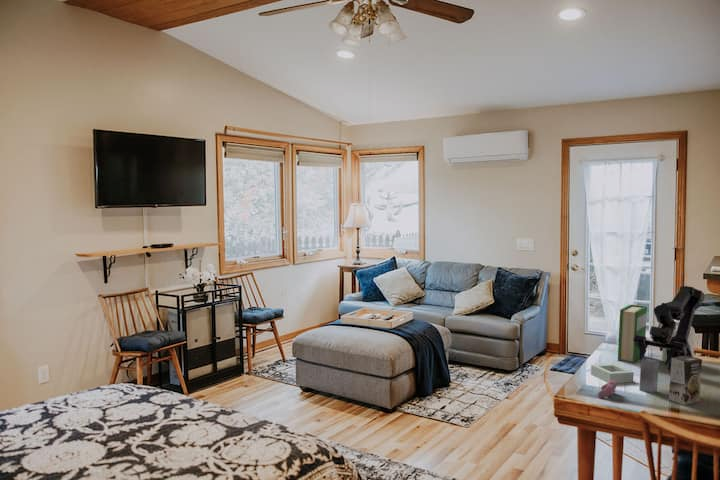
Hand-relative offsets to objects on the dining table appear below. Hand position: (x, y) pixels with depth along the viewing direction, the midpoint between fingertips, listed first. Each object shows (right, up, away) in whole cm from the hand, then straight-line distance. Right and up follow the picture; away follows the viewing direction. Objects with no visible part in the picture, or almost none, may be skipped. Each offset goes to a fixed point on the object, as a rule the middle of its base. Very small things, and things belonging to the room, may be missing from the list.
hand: (653, 362), depth 217 cm
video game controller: (-21, -11, -8) cm, 25 cm away
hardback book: (+13, -8, +44) cm, 46 cm away
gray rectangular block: (-3, -11, -2) cm, 11 cm away
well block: (-10, -9, +13) cm, 19 cm away
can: (+31, -9, +38) cm, 50 cm away
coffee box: (+5, -12, -12) cm, 18 cm away
